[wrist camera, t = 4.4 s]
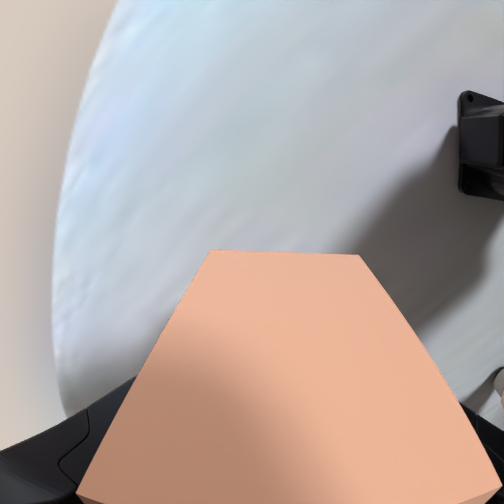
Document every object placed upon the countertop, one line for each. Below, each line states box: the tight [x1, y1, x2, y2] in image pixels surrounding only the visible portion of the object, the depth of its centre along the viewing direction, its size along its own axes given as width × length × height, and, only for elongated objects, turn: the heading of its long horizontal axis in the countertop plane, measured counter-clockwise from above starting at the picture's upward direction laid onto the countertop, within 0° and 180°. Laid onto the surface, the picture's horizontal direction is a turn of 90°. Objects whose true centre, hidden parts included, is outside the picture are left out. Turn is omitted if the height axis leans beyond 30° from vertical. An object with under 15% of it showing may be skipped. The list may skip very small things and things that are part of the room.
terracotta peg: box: [76, 250, 502, 504], centre depth 6 cm, size 4×4×8 cm
